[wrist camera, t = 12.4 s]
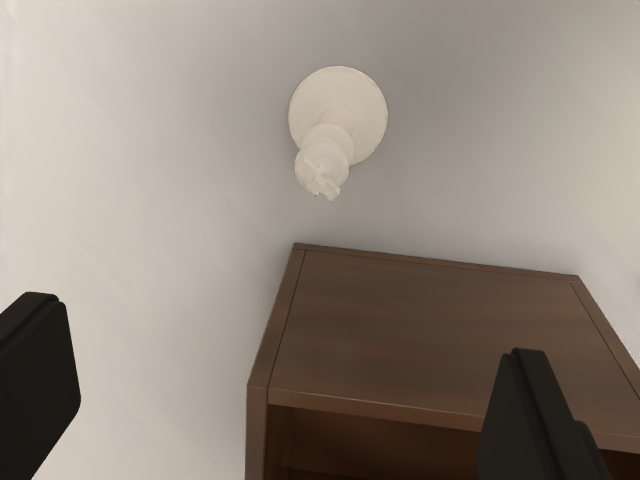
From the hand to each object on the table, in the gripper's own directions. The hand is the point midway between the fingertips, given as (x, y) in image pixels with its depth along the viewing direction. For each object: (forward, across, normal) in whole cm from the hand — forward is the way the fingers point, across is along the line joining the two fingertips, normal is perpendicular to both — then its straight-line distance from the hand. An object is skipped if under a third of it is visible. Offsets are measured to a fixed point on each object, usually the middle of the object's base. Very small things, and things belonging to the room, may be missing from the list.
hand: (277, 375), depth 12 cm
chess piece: (+18, 0, -1) cm, 18 cm away
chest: (+18, -6, +15) cm, 24 cm away
